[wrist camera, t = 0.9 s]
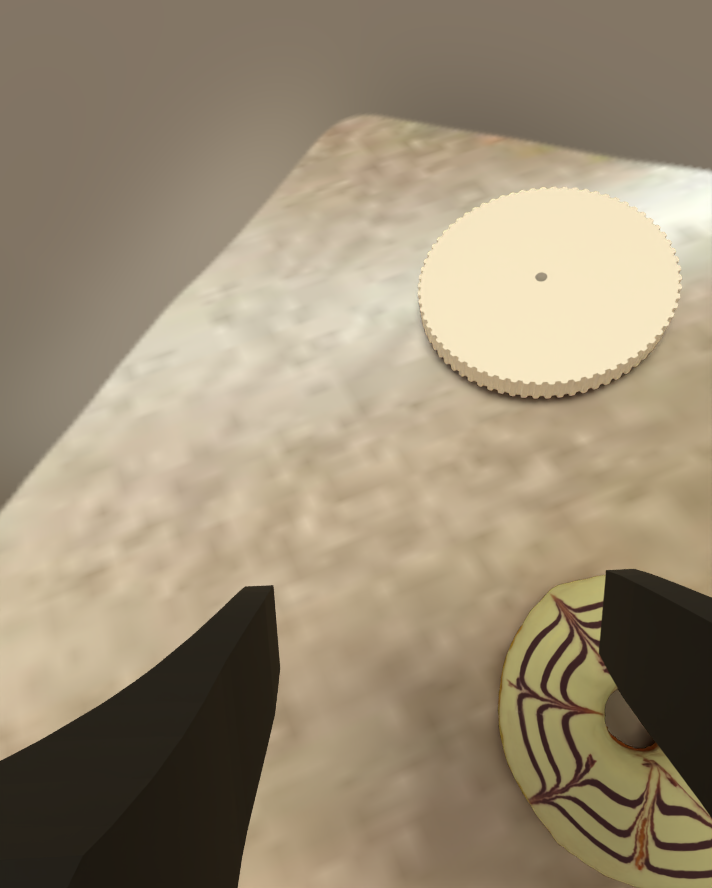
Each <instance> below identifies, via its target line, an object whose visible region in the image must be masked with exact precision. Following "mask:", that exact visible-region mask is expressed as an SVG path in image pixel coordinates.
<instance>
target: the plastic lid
mask: <svg viewBox="0 0 712 888" xmlns="http://www.w3.org/2000/svg"><path fill="white" fill-rule="evenodd" d="M628 204H629V203H627V202H620V201H619V199H618V198H616V197H615V198H610V197H609V195H607V194H604V195H600V194H599V192H597V191H594V192H593V193H592V192H589V190H587V189H584V190H578V188H573V189H568V188H567V187H562V188H561V189H557V187H551V189H546V187H541V189H539V190H536V189H535V188H532V189H530V191H525V190H521V191H520V192H519V193H514V192H512V193H510V194H509V195H508V196H504V195H502V196H500V198H499V199H491V200H490V202H489V203H482V204H481V207H479V208H477V207H475V208H473V209H472V212H470V213H468V212H467V213H465V214H464V217H463V218H458V219H457V220H456V223H455V224H451V225H450V226H449V229H448V230H445V231H444V232H443V236H442V237H438V239H437V243H436V244H433V245H432V251H429V252H428V254H427V256H428V259H425V260H424V267H422V268H421V273H422V274H421V275H420V276H419V280H420V283H418V288H419V291H418V297H419V306H420V312H421V318H422V323H423V327H424V328H425V333H426V335H428V339H429V342H430V343H432V345H433V349H434V350H438V355H439V357H440V358H441V357H444V362H445V363H446V364H451V369H452V370H454V371H455V370H458V371H459V375H461V376H462V377H463V376H467V377H468V380H469V381H470V382H472V381H476V382H477V385H478V386H481V387H482V386H483V385H485V386H487V389H488V390H491V391H492V390H493V389H496V390H498V393H501V394H503V393H504V392H507V393H509V395H510V396H515V395H516V394H518V395H521V397H522V398H526V397H527V396H532V397H533V398H537V399H538V398H539V396H544V397H545V398H551V396H554V395H556V396H557V397H558V398H559V397H563V395H564V394H569V395H570V396H572V395H575V394H576V392H579V391H580V392H581V393H585V392H587V391H588V389H589V388H593V389H597V388H599V386H600V384H604V385H607V384H609V383H610V381H611V379H615V380H617V379H619V378H620V377H621V375H622V373H625V374H627V373H628V372H630V370H631V368H632V366H633V367H636V366H637V365H639V363H640V361H641V359H643V360H644V359H645V358H646V357H647V355H648V354H649V352H651V351H652V350H653V349H654V347H655V345H656V344H657V343H658V342H659V340H660V338H661V337H662V335H663V333H664V331H665V330H666V328H667V326H668V324H669V323H670V321H671V319H672V317H673V315H674V312H675V310H676V308H677V306H678V304H677V302H678V300H679V298H680V294H679V292H680V290H681V288H682V285H681V284H679V283H680V281H681V280H682V275H679V272H680V271H681V266H678V265H677V263H678V261H679V258H678V257H675V256H674V255H675V252H676V250H675V248H671V247H670V246H671V244H672V242H671V241H670V240H666V233H665V232H660V226H659V225H654V224H653V221H654V220H653V219H651V218H646V217H645V216H646V214H645V213H644V212H638V211H637V209H638V208H636V207H630V206H628Z"/></svg>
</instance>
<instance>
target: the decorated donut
mask: <svg viewBox="0 0 712 888" xmlns="http://www.w3.org/2000/svg"><path fill="white" fill-rule="evenodd" d="M605 576H606V575H602V576H595V577H592V578H589V579H583V580H577V581H573V582H570V583H565V584H561V585H558V586H556V587H554V588H552V589H551V590H550V591H549V592H548V593H547V594H546V595H545V596H544V597H543V599H542V600H541V601H540V602H539V603H538V604H537V605H536V606H535V607H534V608H533V609H532V610H531V611H530V612H529V614H528V616H527V617H526V619H525V621H524V622H523V624H522V626H521V627H520V629H519V630H518V632H517V634H516V635H515V637H514V639H513V641H512V643H511V645H510V648H509V651H508V653H507V655H506V658H505V662H504V665H503V670H502V675H501V683H500V690H499V702H498V704H499V705H498V715H499V730H500V737H501V741H502V744H503V749H504V753H505V757H506V759H507V763H508V765H509V767H510V769H511V771H512V774H513V776H514V778H515V780H516V782H517V784H518V785H519V787H520V789H521V791H522V793H523V794H524V796H525V797H526V799H527V801H528V802H529V803H530V805H531V807H532V809H533V810H534V812H535V813H536V815H537V816H538V818H539V819H540V820H541V822H542V823H543V824H544V826H545V827H546V828H547V829H548V830H549V832H550V833H551V835H552V836H553V838H554V840H555V841H556V842H557V843H558V844H559V845H560V846H563V847H564V848H565V849H566V850H567V851H568V852H569V853H571V854H573V855H575V856H576V857H578V858H579V859H580V860H581V861H583V862H584V863H585V864H587V865H588V866H590V867H592V868H594V869H595V870H597V871H598V872H600V873H601V874H603V875H605V876H607V877H609V878H613V879H615V880H618V881H621V882H624V883H626V884H629V885H632V886H634V887H637V888H712V818H711V817H710V815H709V814H708V812H707V811H706V810H705V808H704V807H703V805H702V804H701V802H700V801H699V800H698V798H697V797H696V796H695V794H694V793H693V792H692V790H691V789H690V788H689V786H688V785H687V784H686V782H685V781H684V780H683V778H682V777H681V776H680V774H679V773H678V772H677V770H676V769H675V767H674V766H673V765H672V763H671V762H670V761H669V759H668V758H667V757H666V755H665V754H664V753H663V751H662V750H661V749H660V747H659V746H658V745H657V743H654V744H653V745H652V746H651V747H649V746H647V748H645V749H643V748H642V749H640V748H639V749H636V748H633V747H630V746H627V745H625V744H624V743H622V742H621V741H619V740H617V738H616V737H614V736H612V735H611V734H610V732H609V731H608V729H607V728H608V727H607V726H606V725H605V712H604V711H605V705H606V702H607V700H608V698H609V696H610V695H611V694H612V693H613V692H614V691H615V690H617V689H618V688H617V686H616V684H615V683H614V681H613V679H612V677H611V676H610V674H609V672H608V670H607V668H606V666H605V664H604V662H603V661H602V659H601V657H600V655H599V644H600V632H601V621H602V610H603V599H604V588H605Z"/></svg>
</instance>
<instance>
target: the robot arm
mask: <svg viewBox="0 0 712 888" xmlns="http://www.w3.org/2000/svg"><path fill="white" fill-rule="evenodd" d="M599 655H600V657H601V659H602V661H603V662H604V664H605V666H606V668H607V670H608V672H609V674H610V676H611V677H612V679H613V681H614V683H615V684H616V686H617V688H618V689H619V691H620V693H621V695H622V696H623V698H624V699H625V701H626V702H627V704H628V705H629V706H630V708H631V709H632V711H633V712H634V713H635V715H636V716H637V717H638V719H639V720H640V722H641V723H642V724H643V726H644V727H645V728H646V730H647V731H648V733H649V734H650V735H651V737H652V738H653V739H654V741H655V742H656V743H657V745H658V746H659V747H660V749H661V750H662V751H663V753H664V754H665V755H666V757H667V758H668V759H669V761H670V762H671V763H672V765H673V766H674V767H675V769H676V770H677V772H678V773H679V774H680V776H681V777H682V778H683V780H684V781H685V782H686V784H687V785H688V786H689V788H690V789H691V790H692V792H693V793H694V794H695V796H696V797H697V798H698V800H699V801H700V802H701V804H702V805H703V807H704V808H705V810H706V811H707V812H708V814H709V815H710V817H711V818H712V598H711V597H709V596H706V595H704V594H701V593H699V592H696V591H694V590H691V589H689V588H686V587H684V586H681V585H679V584H676V583H674V582H671V581H669V580H666V579H663V578H661V577H658V576H655V575H652V574H649V573H646V572H643V571H639V570H636V569H623V570H606V576H605V588H604V599H603V610H602V621H601V632H600V644H599ZM279 675H280V661H279V648H278V636H277V624H276V612H275V599H274V587H273V585H271V586H248V587H244V588H243V589H242V590H241V591H239V592H238V593H237V594H236V595H235V596H234V597H233V598H232V599H231V600H230V601H229V602H228V603H227V604H226V605H225V606H224V607H223V608H222V609H221V610H219V611H218V612H217V613H216V614H215V615H214V616H213V617H212V618H211V619H210V620H209V621H208V622H207V623H205V624H204V625H203V626H202V627H201V628H200V629H199V630H198V631H197V632H196V633H195V634H193V635H192V636H191V637H190V638H189V639H188V640H186V641H185V642H184V643H183V644H182V645H180V646H179V647H178V648H177V649H176V650H174V651H173V652H172V653H171V654H169V655H168V656H167V657H166V658H165V659H163V660H162V661H161V662H160V663H159V664H157V665H156V666H155V667H154V668H152V669H151V670H150V671H148V672H147V673H146V674H144V675H143V676H142V677H140V678H139V679H137V680H136V681H135V682H133V683H132V684H130V685H129V686H127V687H126V688H125V689H123V690H122V691H120V692H119V693H117V694H116V695H114V696H113V697H111V698H110V699H108V700H107V701H105V702H104V703H102V704H101V705H99V706H98V707H96V708H94V709H92V710H91V711H89V712H87V713H86V714H84V715H82V716H81V717H79V718H77V719H76V720H74V721H72V722H70V723H69V724H67V725H65V726H64V727H62V728H60V729H59V730H57V731H55V732H54V733H52V734H50V735H48V736H47V737H45V738H43V739H41V740H40V741H38V742H36V743H34V744H32V745H30V746H28V747H26V748H24V749H23V750H21V751H19V752H17V753H15V754H13V755H11V756H9V757H7V758H5V759H3V760H1V761H0V888H238V881H239V874H240V868H241V861H242V855H243V850H244V845H245V840H246V835H247V830H248V826H249V822H250V817H251V813H252V809H253V805H254V801H255V797H256V792H257V788H258V784H259V780H260V776H261V772H262V767H263V763H264V759H265V755H266V751H267V746H268V742H269V738H270V733H271V729H272V725H273V720H274V716H275V709H276V701H277V693H278V684H279Z"/></svg>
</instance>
